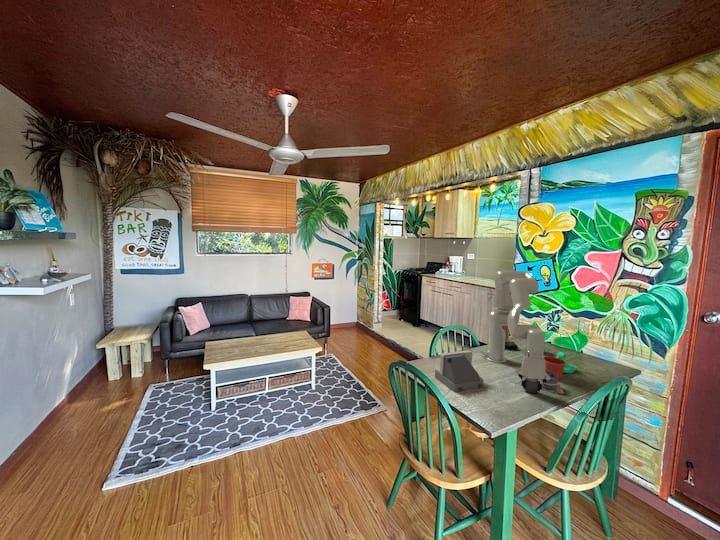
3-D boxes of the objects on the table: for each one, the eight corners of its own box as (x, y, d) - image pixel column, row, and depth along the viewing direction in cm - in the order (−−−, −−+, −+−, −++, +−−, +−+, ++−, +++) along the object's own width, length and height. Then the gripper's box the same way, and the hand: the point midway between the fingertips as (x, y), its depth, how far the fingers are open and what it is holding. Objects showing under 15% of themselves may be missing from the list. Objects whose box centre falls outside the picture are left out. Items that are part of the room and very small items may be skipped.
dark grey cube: (524, 391, 146) (525, 380, 146) (523, 385, 152) (524, 375, 151) (538, 394, 144) (539, 383, 143) (537, 388, 149) (538, 378, 149)
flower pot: (569, 380, 161) (570, 363, 160) (551, 381, 159) (553, 364, 159) (553, 372, 172) (554, 356, 171) (536, 373, 170) (538, 356, 169)
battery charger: (513, 347, 214) (513, 341, 214) (517, 351, 205) (518, 346, 204) (494, 345, 216) (494, 340, 216) (497, 350, 207) (498, 344, 207)
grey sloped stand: (466, 372, 170) (467, 346, 168) (488, 389, 149) (489, 361, 148) (431, 374, 166) (432, 348, 164) (449, 392, 145) (450, 363, 144)
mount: (565, 375, 169) (567, 357, 168) (551, 369, 175) (553, 353, 174) (577, 371, 174) (578, 354, 173) (563, 366, 181) (564, 350, 180)
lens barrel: (533, 388, 152) (534, 376, 151) (531, 379, 162) (531, 368, 161) (563, 394, 146) (564, 381, 146) (559, 384, 156) (560, 372, 156)
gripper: (515, 353, 146) (512, 388, 148) (556, 360, 139) (552, 396, 141) (514, 348, 152) (511, 381, 155) (553, 354, 146) (550, 389, 148)
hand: (531, 388), depth 148 cm, fingers closed on dark grey cube, 5 cm apart
